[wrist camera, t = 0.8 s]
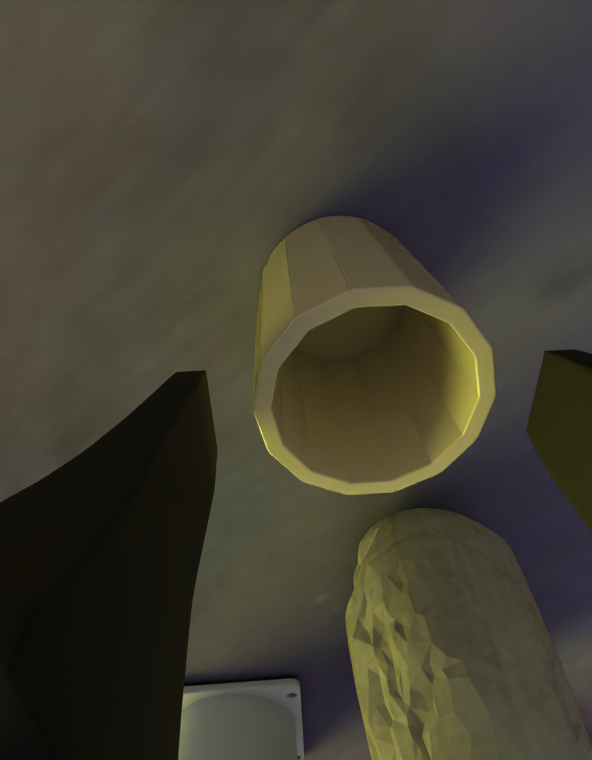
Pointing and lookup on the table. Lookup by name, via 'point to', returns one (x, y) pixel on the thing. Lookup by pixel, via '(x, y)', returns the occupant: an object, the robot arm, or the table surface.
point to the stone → (454, 648)
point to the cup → (364, 361)
